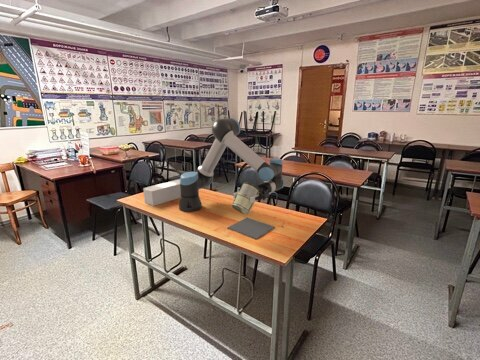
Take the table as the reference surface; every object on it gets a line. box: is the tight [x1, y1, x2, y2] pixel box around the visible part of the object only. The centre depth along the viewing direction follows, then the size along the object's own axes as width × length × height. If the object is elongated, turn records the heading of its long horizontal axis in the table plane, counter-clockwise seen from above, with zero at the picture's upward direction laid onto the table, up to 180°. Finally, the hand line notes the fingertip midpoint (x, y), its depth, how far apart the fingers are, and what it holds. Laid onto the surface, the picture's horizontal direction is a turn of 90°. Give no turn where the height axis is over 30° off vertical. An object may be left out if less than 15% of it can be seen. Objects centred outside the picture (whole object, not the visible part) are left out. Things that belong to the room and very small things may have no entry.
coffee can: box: [231, 181, 260, 216], centre depth 138 cm, size 10×10×14 cm
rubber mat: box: [226, 217, 276, 240], centre depth 148 cm, size 20×18×1 cm
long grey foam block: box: [143, 178, 181, 207], centre depth 194 cm, size 32×11×11 cm, turn 140°
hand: (242, 198), depth 136 cm, fingers closed on coffee can, 10 cm apart
